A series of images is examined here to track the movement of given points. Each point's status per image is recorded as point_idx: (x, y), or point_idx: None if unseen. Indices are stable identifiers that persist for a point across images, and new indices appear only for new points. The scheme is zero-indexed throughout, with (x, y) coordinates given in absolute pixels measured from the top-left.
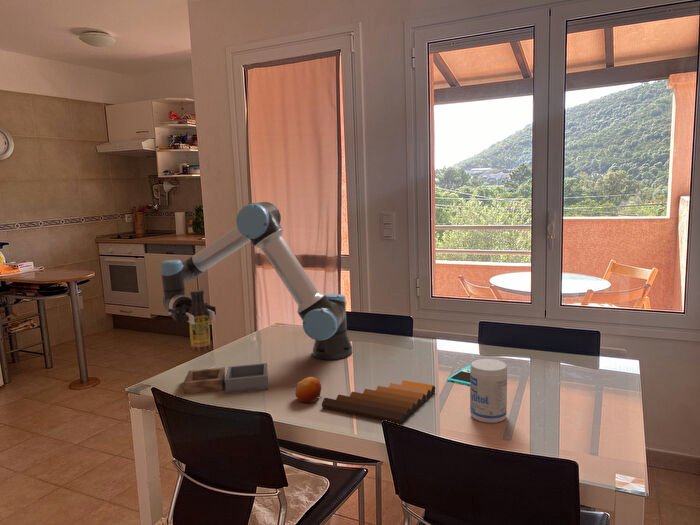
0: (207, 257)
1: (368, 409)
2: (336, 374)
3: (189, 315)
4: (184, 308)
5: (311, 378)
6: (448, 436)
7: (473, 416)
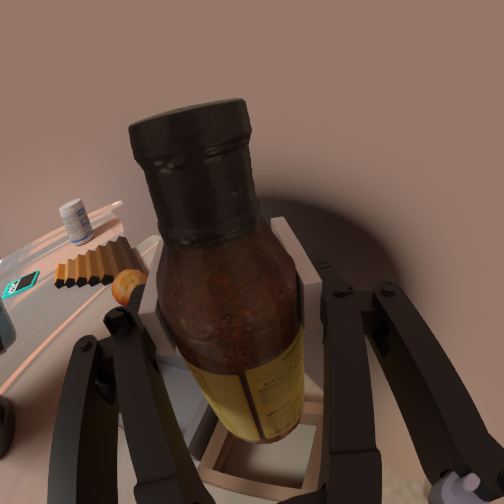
0: None
1: (127, 248)
2: (52, 354)
3: (293, 236)
4: (344, 452)
5: (122, 272)
6: (122, 228)
7: (91, 236)
